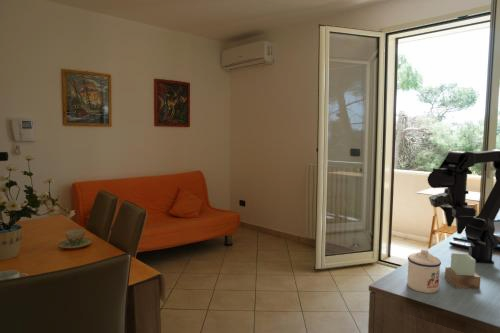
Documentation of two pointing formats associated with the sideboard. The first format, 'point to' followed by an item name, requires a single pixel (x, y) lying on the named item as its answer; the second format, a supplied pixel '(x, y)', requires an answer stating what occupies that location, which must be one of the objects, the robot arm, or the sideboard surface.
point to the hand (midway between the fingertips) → (453, 229)
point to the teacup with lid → (423, 272)
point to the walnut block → (462, 279)
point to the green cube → (463, 264)
